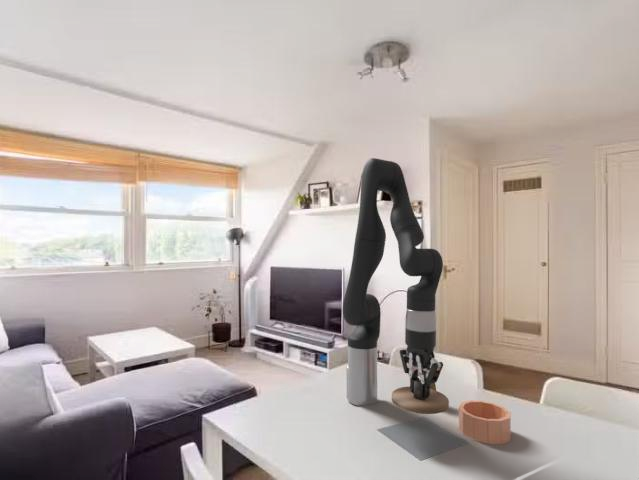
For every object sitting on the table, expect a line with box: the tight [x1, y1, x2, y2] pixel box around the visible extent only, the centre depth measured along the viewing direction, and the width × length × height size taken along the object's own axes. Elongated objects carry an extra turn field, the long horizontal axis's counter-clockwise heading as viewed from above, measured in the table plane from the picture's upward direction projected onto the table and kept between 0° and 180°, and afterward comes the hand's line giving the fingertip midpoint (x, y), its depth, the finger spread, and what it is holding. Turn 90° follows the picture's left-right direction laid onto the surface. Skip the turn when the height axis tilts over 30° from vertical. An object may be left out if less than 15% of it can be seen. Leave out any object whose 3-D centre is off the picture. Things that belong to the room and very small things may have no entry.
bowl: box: [458, 399, 512, 445], centre depth 96 cm, size 12×12×6 cm
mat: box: [376, 416, 470, 462], centre depth 94 cm, size 16×16×1 cm
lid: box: [391, 378, 450, 415], centre depth 94 cm, size 14×14×5 cm
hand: (419, 394), depth 94 cm, fingers closed on lid, 3 cm apart
